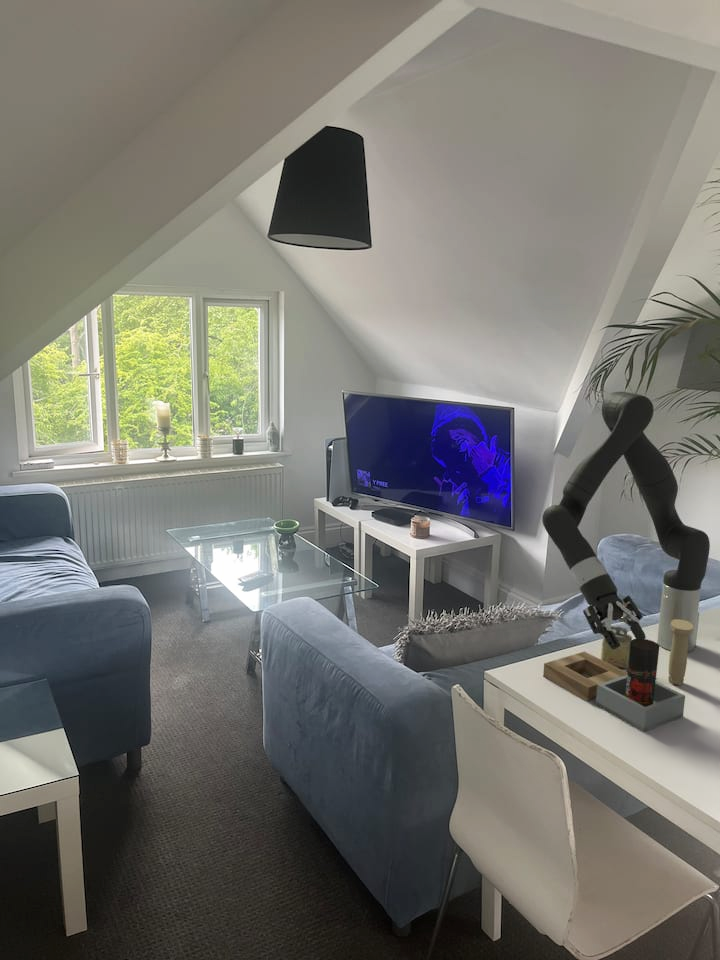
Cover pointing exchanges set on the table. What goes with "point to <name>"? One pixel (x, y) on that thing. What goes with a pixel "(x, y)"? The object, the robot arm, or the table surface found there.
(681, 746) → the table surface
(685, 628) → the handle
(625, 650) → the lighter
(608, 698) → the bin
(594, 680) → the holder
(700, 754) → the table surface
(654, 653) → the deodorant
